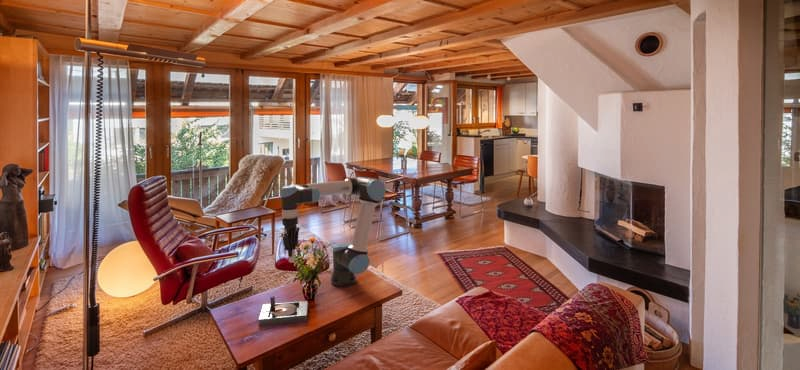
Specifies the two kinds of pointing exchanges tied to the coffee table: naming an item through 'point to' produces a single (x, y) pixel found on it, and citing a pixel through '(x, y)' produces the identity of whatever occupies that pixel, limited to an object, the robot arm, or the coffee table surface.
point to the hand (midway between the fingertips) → (291, 261)
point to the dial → (282, 309)
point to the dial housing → (268, 319)
